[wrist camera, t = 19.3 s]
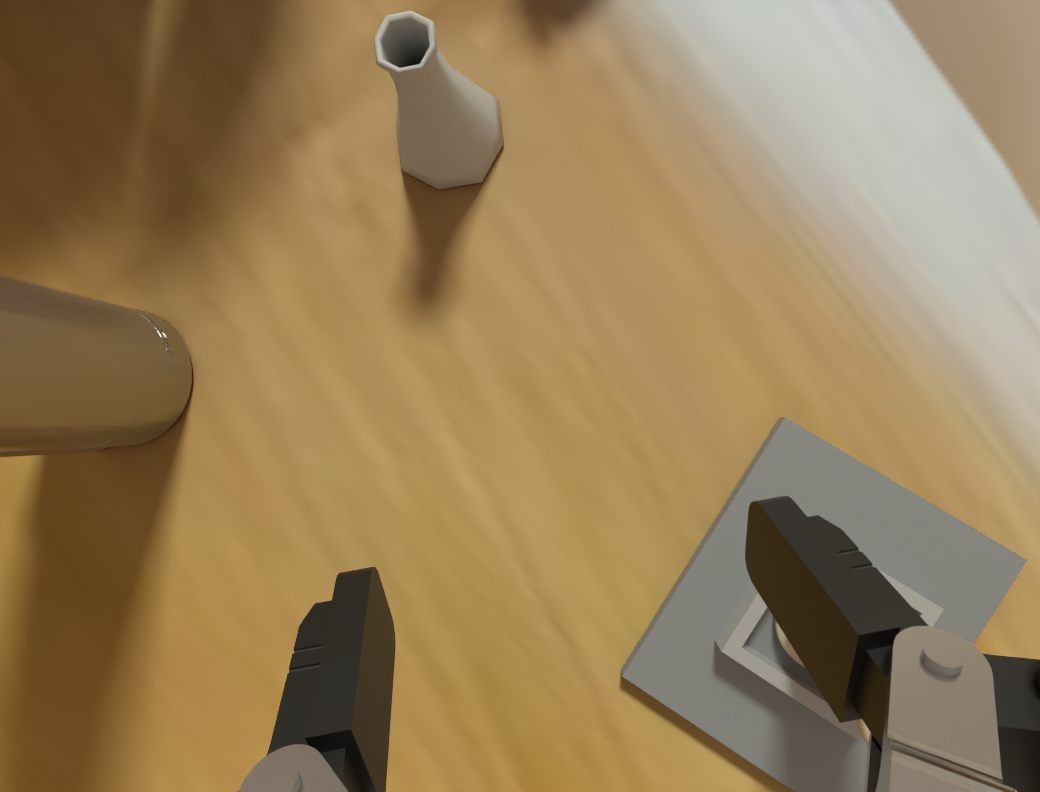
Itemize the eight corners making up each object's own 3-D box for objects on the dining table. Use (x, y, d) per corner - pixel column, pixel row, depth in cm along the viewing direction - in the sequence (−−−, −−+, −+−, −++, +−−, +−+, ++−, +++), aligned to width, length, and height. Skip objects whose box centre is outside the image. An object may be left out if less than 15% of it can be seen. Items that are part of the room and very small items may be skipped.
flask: (515, 90, 39) (490, -23, 29) (493, 199, 39) (460, 123, 29) (408, 76, 40) (349, -38, 30) (386, 183, 40) (320, 103, 30)
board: (845, 819, 35) (867, 853, 32) (621, 669, 37) (623, 689, 34) (1014, 556, 35) (1051, 567, 32) (779, 417, 37) (795, 416, 34)
